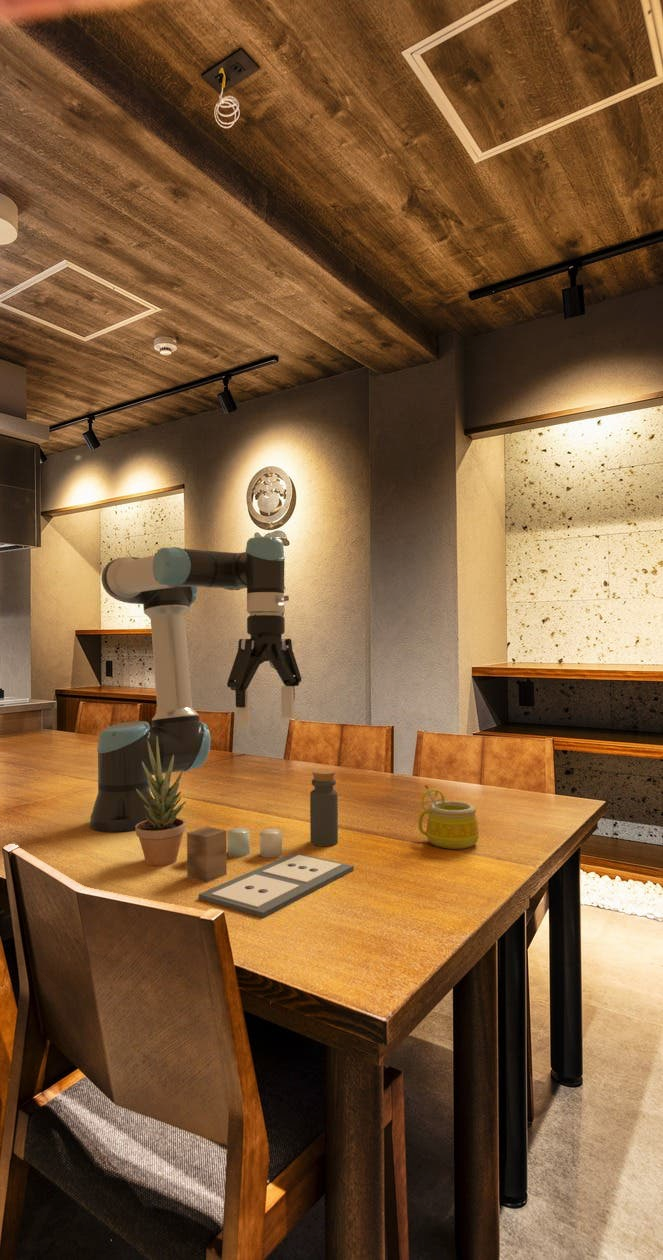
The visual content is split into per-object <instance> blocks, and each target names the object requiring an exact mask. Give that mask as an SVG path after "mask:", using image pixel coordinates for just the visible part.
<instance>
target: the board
mask: <svg viewBox="0 0 663 1260" xmlns="http://www.w3.org/2000/svg"><path fill="white" fill-rule="evenodd" d="M353 871H354V865H353V864H346V863H343V862H338V861H334V860H330V859H329V860H328V859H324V858H319V857H315V856H309V855H305V854H300V853H296V852H293V853H290V854H288V855H286V856H284V857H282V858H279V859H277V860H274V861H273V862H270V863H268V864H264V865H263V866H260V867H259V868H256V869H253V870H251V871H249V872H246V873H244V874H242V875H239V876H238V877H235V878H233V879H231V880H228V881H225V882H224V883H221V884H219V885H216V886H214V887H211V888H210V889H207V890H205V891H203V892H200V893H199V894H198V900H201V901H204V902H208V903H212V904H215V905H219V906H222V907H224V908H229V909H232V910H235V911H239V912H242V913H246V914H249V915H252V916H255V917H260V918H266V917H268V916H269V915H272V914H273V913H275V912H277V911H279V910H281V909H282V908H285V907H286V906H288V905H290V904H293V903H294V902H296V901H297V900H300V899H302V898H303V897H306V896H308V895H309V894H311V893H313V892H314V891H317V890H319V889H320V888H322V887H324V886H326V885H328V884H330V883H332V882H334V881H336V880H337V879H340V878H341V877H343V876H345V875H347V874H349V873H351V872H353Z"/></svg>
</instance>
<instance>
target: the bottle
mask: <svg viewBox="0 0 663 1260" xmlns="http://www.w3.org/2000/svg"><path fill="white" fill-rule="evenodd" d="M335 773H336V772H335V770H332V769H315V770H312V776H313V779H312V780H311V785H312V786H313V787H314V789H312V790H311V791H310V793H309V794H310V795H309V799H310V800H309V801H310V802H309V803H310V804H309V808H310V810H309V818H310V820H309V823H310V844H311V845H314V846H317V847H330V846H334V845H337V844H338V842H339V818H338V817H339V813H338V810H339V808H338V807H339V804H338V803H339V802H338V799H339V798H338V797H339V796H338V791H337V790H336V789H334V786H336V785H337V784H336V783H337V781H336V779H335Z"/></svg>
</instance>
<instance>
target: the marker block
mask: <svg viewBox="0 0 663 1260" xmlns="http://www.w3.org/2000/svg"><path fill="white" fill-rule="evenodd" d="M186 860H187V861H186V873H187V875H186V876H187V878H189V879H194V880H197V881H201V882H205V883H209V882H211V881H214V880H216V879H218V878H221V877H223V876H226V875H227V874H228V872H227V830H226V829H221V828H215V827H211V826H205V827H201V828H198V829H195V830H192V831H189V832H187V833H186Z"/></svg>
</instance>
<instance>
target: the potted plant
mask: <svg viewBox="0 0 663 1260" xmlns="http://www.w3.org/2000/svg"><path fill="white" fill-rule="evenodd" d="M148 751H149V756H150V760H151V765H152V769H153V772H154V777H153V775H151V774H150V773H149V771H148V769H147V768H146V766H145V765H144V763H143V762H142V765H143V768H144V771H145V773H146V775H147V777H148V779H149V780H148V785H149V788H150V792H151V794H150V796H151V797H149V796H148V795H146V794H145V793H143V792H142V793H141V792H140V791H139V790H138V789H136V791H137V793H138V794H139V795H140V797H141V798H142V799H143V800H144V801H145V802H146V804H147V805H148V806H149V808H148V807H147V806H145V805H144V807H145V808H146V809H147V811H148V812H149V815H150V817H151V818H152V819H150V818H149V817H148V816H146V817H147V819H148V820H147V821H143V822H141V823H138V824H137V825H136V826H135V828H136V830H135V835H136V836H137V838H138V840H139V843H140V846H141V849H142V852H143V855H144V861H145V863H146V864H147V865H148V866H150V867H151V866H152V867H161V866H168V865H171V864H174V863H176V862H177V861H178V855H179V851H180V846H181V842H182V838H183V835H184V834H183V833H185V831H186V821H185V819H182V818H180V817H179V818H177V816H178V815H179V813H180V812H181V811H182V809H183V808H184V805H185V804H186V802H187V801H186V800H185V801H184V802H183V803H181V804H180V805H178V804H179V802H180V801H181V799H182V798H181V797H180V795H181V793H182V791H179V787H180V781H181V778H182V774H183V771H180V774H179V775H178V777H177V779H176V781H175V782H174V783H173V784H172V785H171V787H170V784H171V778H172V773H173V772H172V768H173V762H174V754H173V756H172V759H171V761H170V764H169V767H168V770H167V772H166V773H164V774H165V775H164V777H163V774H162V767H161V762H160V754H159V745H158V737H156V752H157V766H156V763H155V759H154V757H153V753H152V751H151V747H150V744H149V742H148ZM178 791H179V792H178ZM147 799H148V800H149V801H150V803H151V804H150V803H149V801H148V800H147ZM177 805H178V806H177ZM176 806H177V807H176Z"/></svg>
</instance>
